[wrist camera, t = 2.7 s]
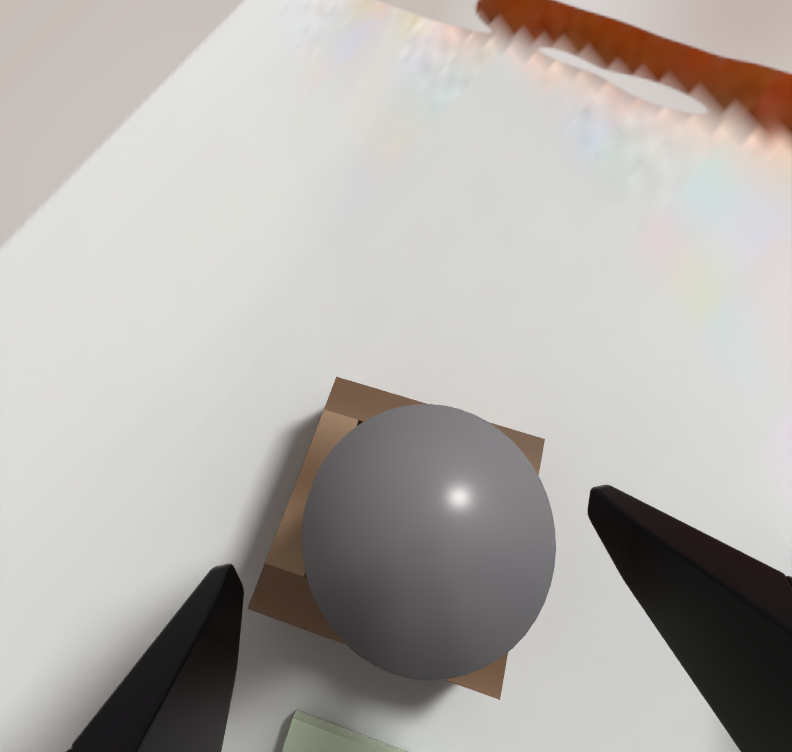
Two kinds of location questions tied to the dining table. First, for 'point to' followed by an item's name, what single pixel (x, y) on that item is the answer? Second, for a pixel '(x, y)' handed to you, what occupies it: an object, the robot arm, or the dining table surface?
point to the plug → (428, 542)
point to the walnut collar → (284, 568)
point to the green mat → (328, 737)
